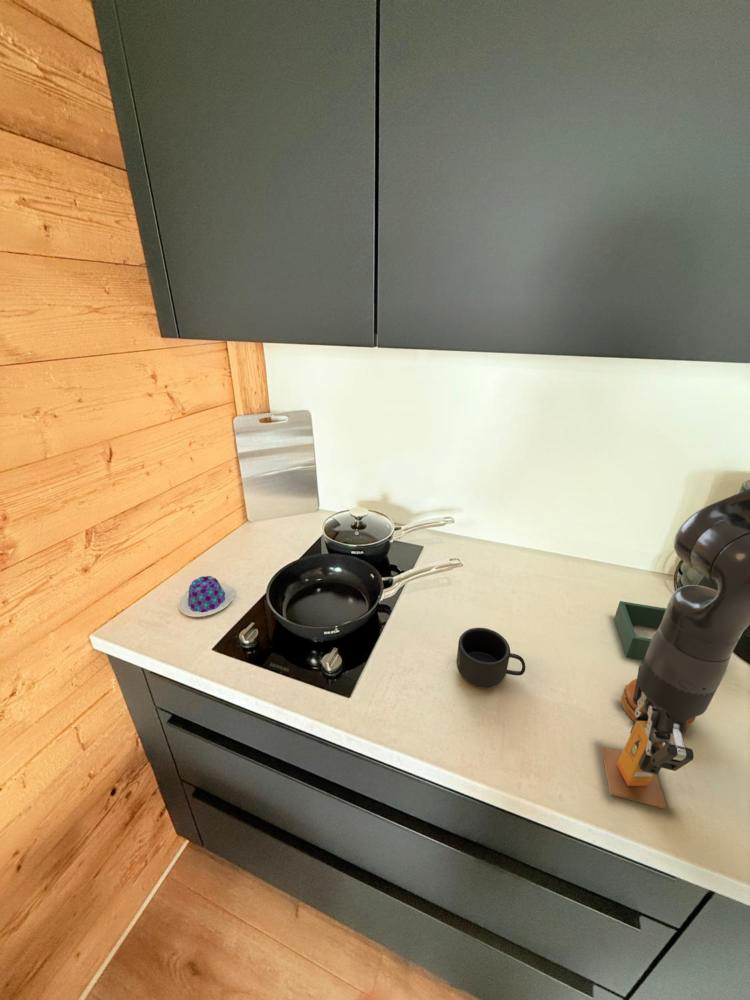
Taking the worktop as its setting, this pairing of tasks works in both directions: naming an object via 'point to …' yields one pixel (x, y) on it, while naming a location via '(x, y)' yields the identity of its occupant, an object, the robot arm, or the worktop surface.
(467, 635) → the mug
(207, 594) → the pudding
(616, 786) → the coaster
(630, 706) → the burger
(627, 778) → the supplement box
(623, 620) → the basket
